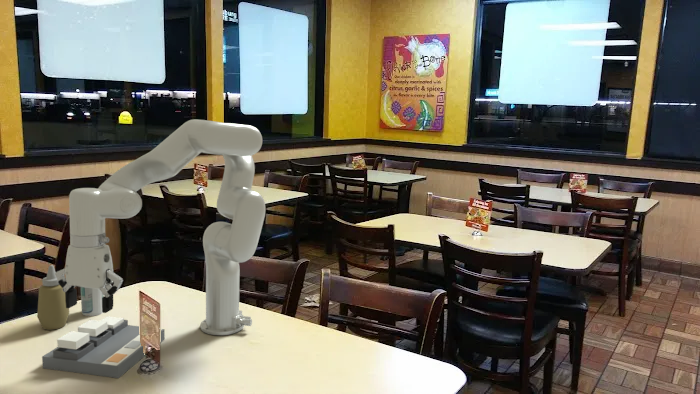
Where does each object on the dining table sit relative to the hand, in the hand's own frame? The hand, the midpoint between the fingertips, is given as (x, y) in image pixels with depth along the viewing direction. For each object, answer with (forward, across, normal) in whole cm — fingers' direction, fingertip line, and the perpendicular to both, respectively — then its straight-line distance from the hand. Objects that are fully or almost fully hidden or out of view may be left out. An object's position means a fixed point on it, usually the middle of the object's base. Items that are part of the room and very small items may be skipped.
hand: (89, 308), depth 129 cm
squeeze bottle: (+15, +24, -18) cm, 34 cm away
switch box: (+15, 0, -7) cm, 16 cm away
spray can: (+15, +20, -30) cm, 39 cm away
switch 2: (+9, +4, -7) cm, 12 cm away
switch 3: (+11, +4, -15) cm, 19 cm away
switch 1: (+9, +4, 0) cm, 10 cm away
